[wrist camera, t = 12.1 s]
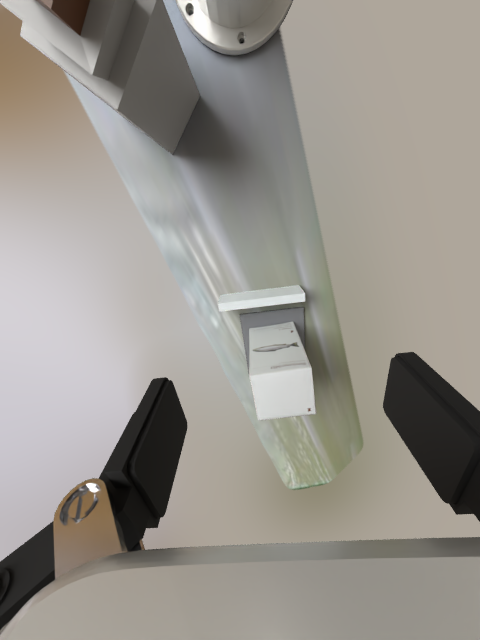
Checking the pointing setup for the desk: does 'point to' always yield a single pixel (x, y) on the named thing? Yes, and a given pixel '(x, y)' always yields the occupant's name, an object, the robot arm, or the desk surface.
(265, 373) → the supplement box
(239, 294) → the frosted wall
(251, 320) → the charcoal mat
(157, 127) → the perfume bottle
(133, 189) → the desk surface
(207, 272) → the desk surface
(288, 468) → the desk surface
